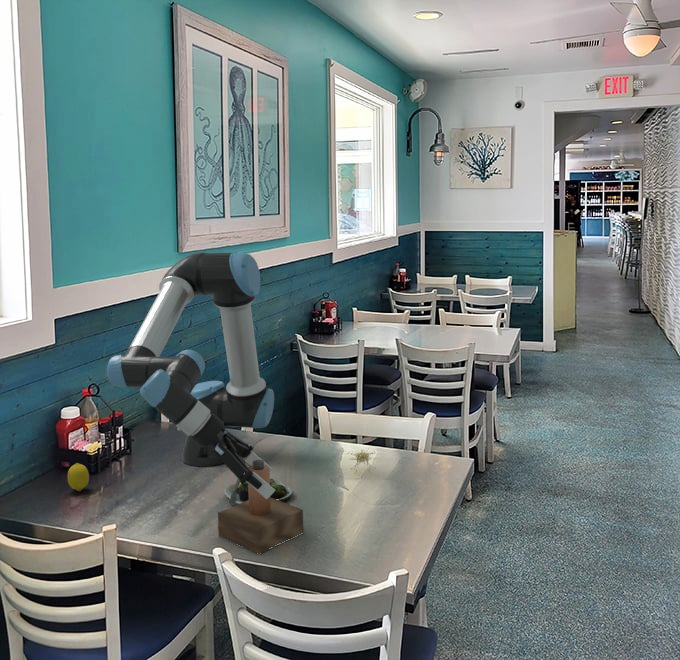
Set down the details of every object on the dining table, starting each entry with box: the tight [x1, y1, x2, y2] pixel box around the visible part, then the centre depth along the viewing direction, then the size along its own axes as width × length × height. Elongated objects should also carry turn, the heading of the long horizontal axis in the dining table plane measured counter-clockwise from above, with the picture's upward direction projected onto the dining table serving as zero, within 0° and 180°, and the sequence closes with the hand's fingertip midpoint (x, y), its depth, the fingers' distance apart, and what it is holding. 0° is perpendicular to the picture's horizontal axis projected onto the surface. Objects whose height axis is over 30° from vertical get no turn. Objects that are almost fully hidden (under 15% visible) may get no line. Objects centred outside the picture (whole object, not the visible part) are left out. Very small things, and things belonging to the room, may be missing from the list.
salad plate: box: [224, 477, 293, 506], centre depth 202 cm, size 19×18×5 cm
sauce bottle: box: [248, 459, 271, 515], centre depth 176 cm, size 5×5×12 cm
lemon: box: [67, 462, 90, 492], centre depth 206 cm, size 6×6×8 cm
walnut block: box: [217, 497, 304, 555], centre depth 178 cm, size 14×14×6 cm
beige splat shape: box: [346, 445, 377, 472], centre depth 217 cm, size 10×13×8 cm
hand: (269, 483), depth 176 cm, fingers open, 13 cm apart
